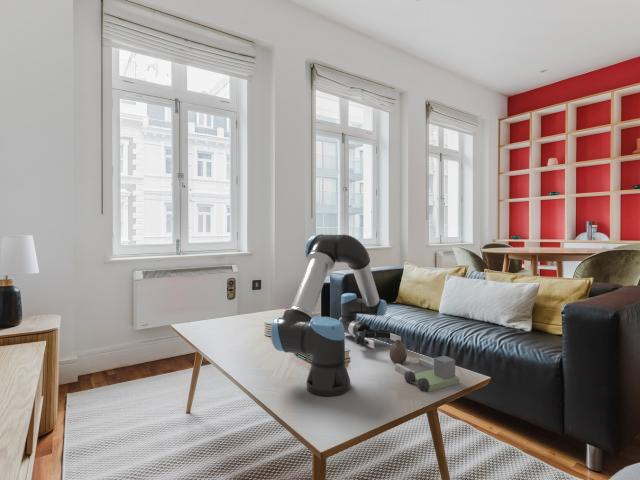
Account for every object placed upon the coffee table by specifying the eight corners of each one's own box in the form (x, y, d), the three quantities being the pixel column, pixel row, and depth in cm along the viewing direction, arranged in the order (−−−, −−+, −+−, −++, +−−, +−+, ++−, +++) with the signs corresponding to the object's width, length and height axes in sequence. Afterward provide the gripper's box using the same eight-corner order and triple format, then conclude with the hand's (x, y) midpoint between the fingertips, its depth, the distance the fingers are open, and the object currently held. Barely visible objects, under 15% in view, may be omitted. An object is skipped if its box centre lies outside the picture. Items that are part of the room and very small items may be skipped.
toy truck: (404, 381, 137) (404, 358, 137) (437, 372, 144) (437, 351, 144) (425, 393, 127) (425, 369, 127) (460, 383, 134) (460, 360, 134)
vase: (407, 365, 151) (407, 343, 151) (389, 365, 153) (389, 343, 152) (407, 359, 158) (406, 338, 158) (389, 358, 160) (389, 337, 159)
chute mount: (394, 370, 147) (394, 364, 147) (421, 364, 153) (421, 358, 153) (412, 379, 138) (412, 372, 138) (439, 372, 144) (439, 366, 144)
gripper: (381, 334, 187) (410, 346, 168) (336, 342, 176) (362, 356, 157) (381, 318, 187) (410, 329, 168) (336, 326, 176) (361, 338, 157)
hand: (387, 342), depth 162 cm, fingers open, 13 cm apart
